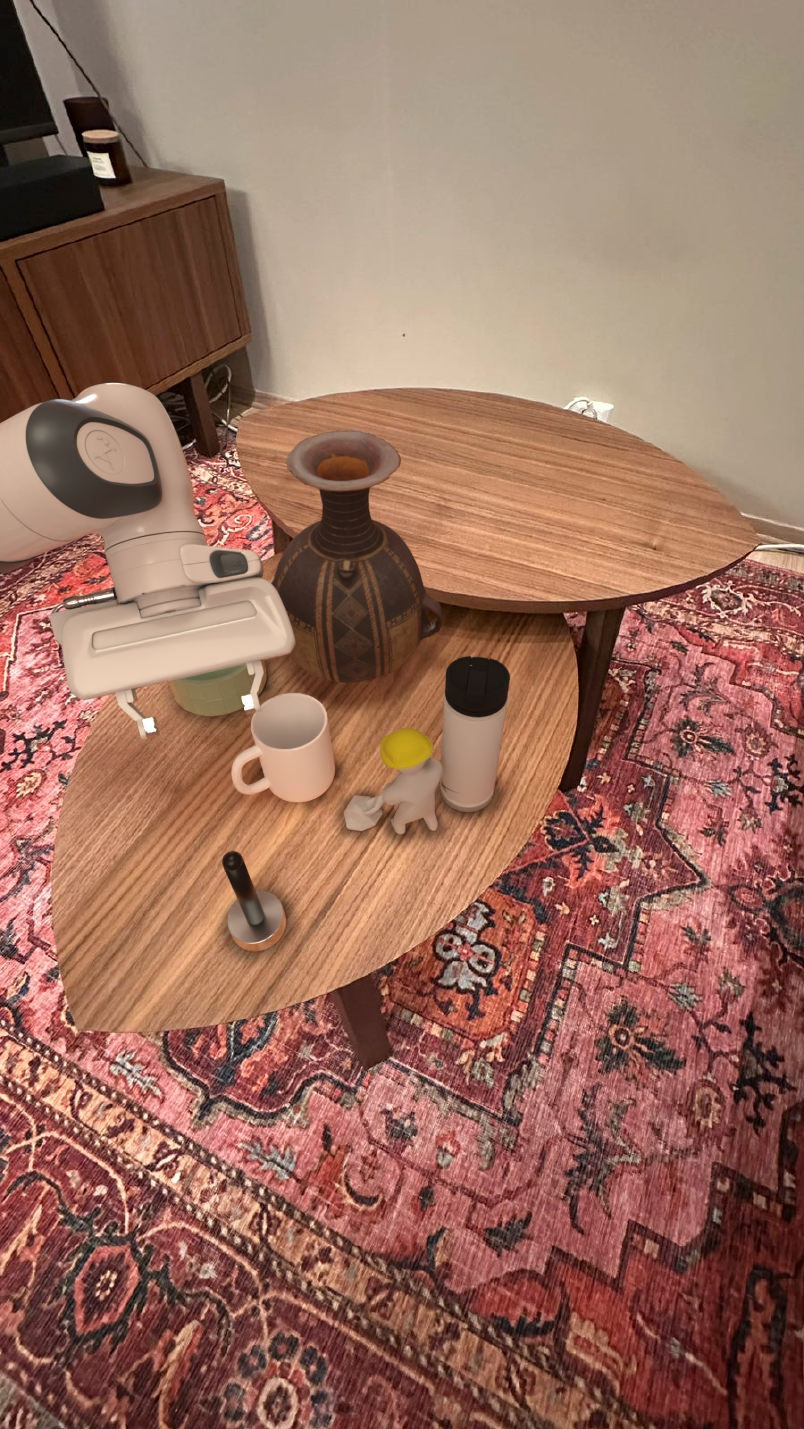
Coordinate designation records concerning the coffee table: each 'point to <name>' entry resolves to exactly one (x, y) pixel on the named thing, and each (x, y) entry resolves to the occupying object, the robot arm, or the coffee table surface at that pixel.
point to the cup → (289, 749)
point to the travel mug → (472, 731)
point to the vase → (351, 567)
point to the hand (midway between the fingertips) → (203, 725)
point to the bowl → (215, 690)
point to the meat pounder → (252, 909)
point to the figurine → (401, 784)
